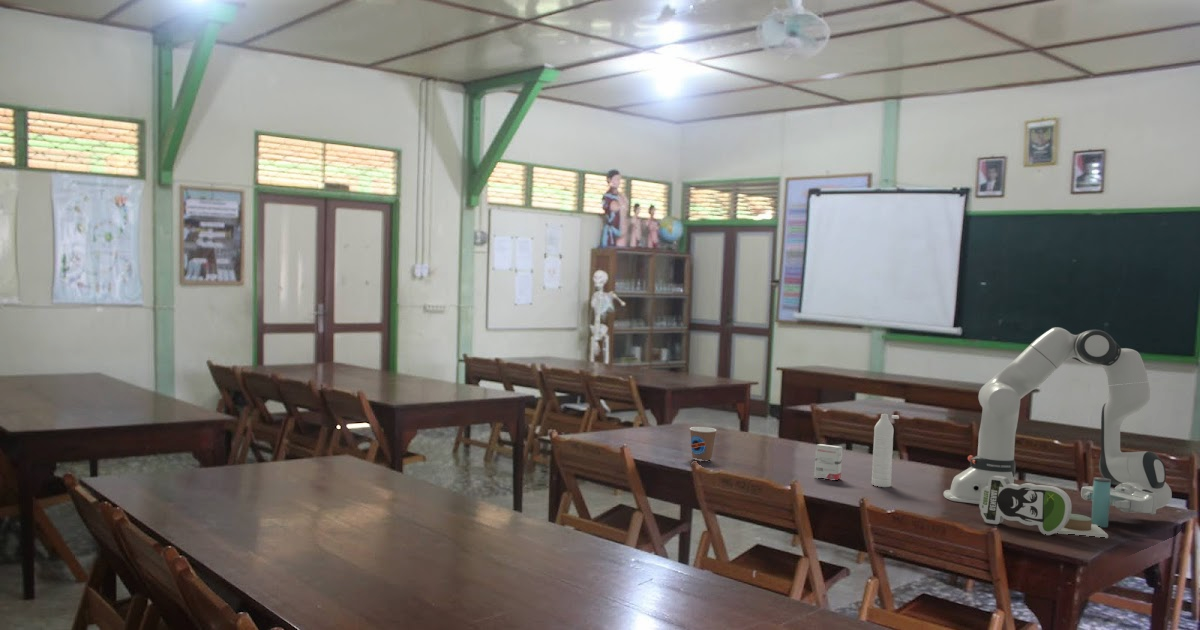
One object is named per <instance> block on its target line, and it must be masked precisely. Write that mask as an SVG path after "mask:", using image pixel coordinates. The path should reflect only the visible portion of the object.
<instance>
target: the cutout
mask: <svg viewBox="0 0 1200 630" xmlns="http://www.w3.org/2000/svg"><path fill="white" fill-rule="evenodd" d="M978 507H979V510H980V515H981V517H982V519H983V522H985V523H986V524H992V525H999V524H1001V523H1003V522H1004V520H1007V521H1012V522H1013V521H1014V522H1015V521H1016V522H1019V523H1021V524H1022V525H1026V526H1029V527H1030V526H1037V528H1038V530H1039V532H1040V533H1041V534H1043V535H1045V534H1046V535H1045V536H1051V535H1054V534H1057V533H1056V532H1058V531H1060V530H1061V529H1062V528H1063V527H1064V526H1065V525H1066V524H1067V523H1068V521H1069V518H1070V515H1071V514H1072V509H1073V508H1072V501H1071V498H1070V496H1069V494H1068V493H1067V492H1066V491H1064V490H1063V489H1062V488H1059V487H1057V486H1054V485H1046V484H1045V485H1043V484H1035V483H1030V482H1027V483H1022V484H1017V483H1014V484H1010V482H1009V480H1008V479H1007V478H1006V477H1002V476H992V477H990V478H989V482H988V486H986V487H984V488H982V490H981V498H980V504H978Z"/></svg>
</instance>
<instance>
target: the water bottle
mask: <svg viewBox="0 0 1200 630" xmlns="http://www.w3.org/2000/svg"><path fill="white" fill-rule="evenodd" d="M880 415H881V416H880V418H879V420H878V421H877V422H876V424H875V425H874V428H873V430H874V431H873V446H872V449H873V450H872V466H871V467H872V468H871V469H872V472H871V485H872V486H873V485H874V487H877V486H878V488H881V487H882V488H890V487H891V486H892V471H893V470H892V469H893V467H892V466H893V451H894V450H893V447H894V431H895V430H894V425H893V424H892V422H891V421H890V419H889V414H887V413H881V414H880ZM891 419H895V420H899V419H900V415H896V414H895V415H894V414H892V415H891Z"/></svg>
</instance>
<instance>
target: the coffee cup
mask: <svg viewBox="0 0 1200 630" xmlns="http://www.w3.org/2000/svg"><path fill="white" fill-rule="evenodd" d="M689 430H690V447H691V457H692V459H693V458H697V459H702V460H710V459H711V460H712V457H713V450H714V443H715V439H716V432H717V429H716V428H713V427H707V426H693V427H692V426H691V427H689Z"/></svg>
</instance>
